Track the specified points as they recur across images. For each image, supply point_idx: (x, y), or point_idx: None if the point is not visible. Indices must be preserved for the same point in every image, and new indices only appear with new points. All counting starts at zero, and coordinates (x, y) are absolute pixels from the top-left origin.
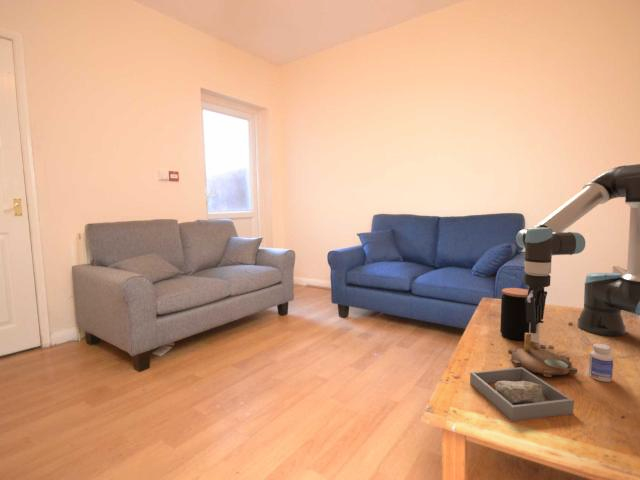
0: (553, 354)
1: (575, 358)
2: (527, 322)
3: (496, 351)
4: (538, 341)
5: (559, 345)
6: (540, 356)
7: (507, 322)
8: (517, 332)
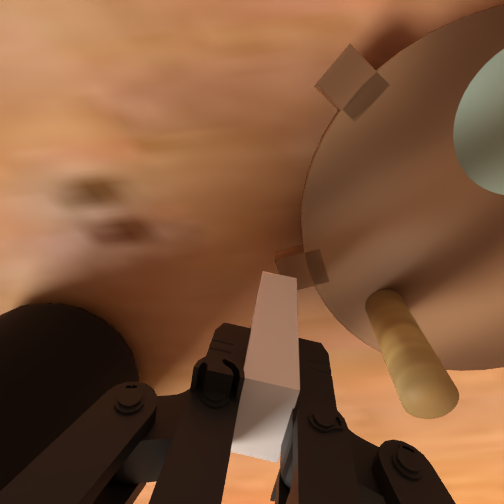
0: (349, 157)
1: (175, 32)
2: (21, 397)
3: (351, 406)
4: (278, 277)
5: (22, 151)
6: (439, 227)
7: None
8: (114, 385)
